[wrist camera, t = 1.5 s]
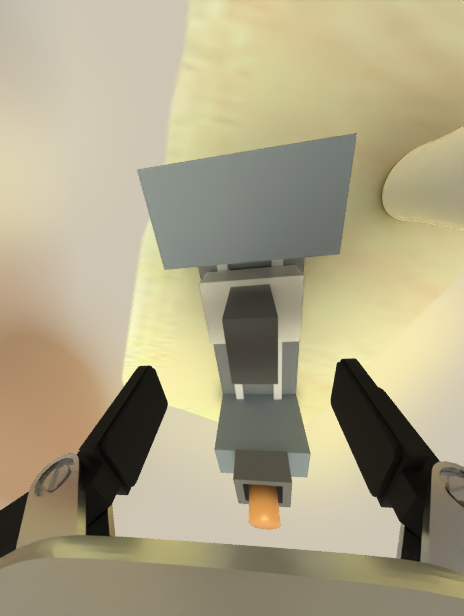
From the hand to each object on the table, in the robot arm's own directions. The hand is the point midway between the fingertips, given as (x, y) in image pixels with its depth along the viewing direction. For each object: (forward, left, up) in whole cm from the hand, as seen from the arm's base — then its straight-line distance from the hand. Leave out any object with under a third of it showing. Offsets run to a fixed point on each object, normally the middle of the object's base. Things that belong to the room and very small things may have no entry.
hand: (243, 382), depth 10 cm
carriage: (-1, 0, -10) cm, 10 cm away
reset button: (-1, +17, -2) cm, 17 cm away
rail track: (-1, +5, -13) cm, 14 cm away
